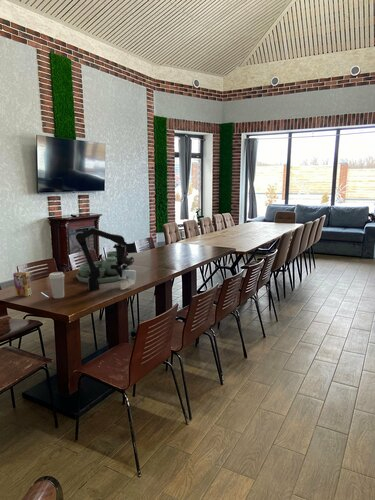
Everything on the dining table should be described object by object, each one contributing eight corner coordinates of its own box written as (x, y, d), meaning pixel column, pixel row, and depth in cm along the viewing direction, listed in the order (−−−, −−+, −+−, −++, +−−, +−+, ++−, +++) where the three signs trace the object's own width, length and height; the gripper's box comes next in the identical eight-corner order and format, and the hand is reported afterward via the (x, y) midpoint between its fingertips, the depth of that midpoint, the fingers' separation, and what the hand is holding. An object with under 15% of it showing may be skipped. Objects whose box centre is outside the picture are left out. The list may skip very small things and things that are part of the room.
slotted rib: (123, 289, 241) (123, 283, 240) (120, 289, 241) (120, 283, 241) (135, 283, 255) (134, 277, 255) (132, 283, 256) (132, 277, 255)
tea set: (82, 272, 296) (80, 252, 293) (132, 269, 300) (130, 249, 297) (71, 285, 257) (69, 262, 254) (129, 282, 261) (127, 259, 258)
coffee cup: (68, 294, 235) (66, 271, 233) (64, 298, 226) (61, 275, 223) (53, 294, 235) (51, 272, 233) (48, 299, 226) (45, 275, 223)
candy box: (32, 294, 237) (29, 271, 235) (28, 296, 233) (25, 273, 230) (19, 294, 239) (16, 271, 236) (15, 296, 234) (12, 273, 232)
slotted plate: (136, 279, 247) (135, 270, 245) (134, 280, 244) (134, 271, 243) (120, 278, 251) (120, 269, 250) (118, 278, 248) (118, 270, 247)
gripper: (124, 257, 234) (125, 280, 237) (137, 251, 252) (139, 274, 254) (109, 256, 238) (110, 279, 241) (123, 251, 256) (125, 273, 258)
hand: (122, 276), depth 249 cm, fingers closed on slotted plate, 2 cm apart
